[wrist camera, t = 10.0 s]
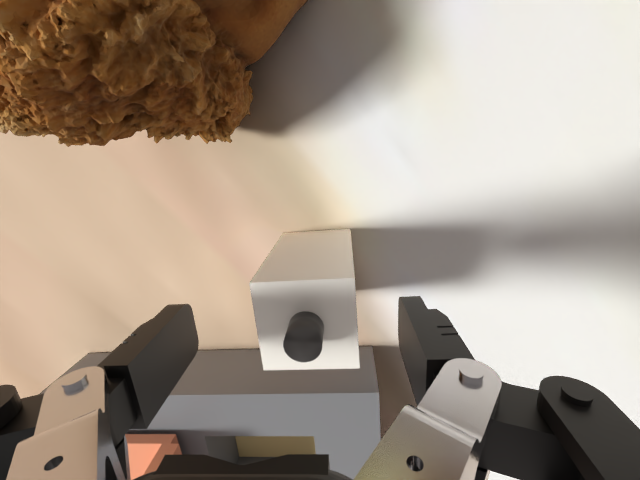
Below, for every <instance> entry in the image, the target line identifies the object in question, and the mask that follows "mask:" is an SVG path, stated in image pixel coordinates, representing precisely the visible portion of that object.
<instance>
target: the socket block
mask: <svg viewBox="0 0 640 480" xmlns="http://www.w3.org/2000/svg"><path fill="white" fill-rule="evenodd" d="M109 354H110V353H88V354H87V355H86V356H85V357H83V358H82V359H81V360H80V361H79V362H77V363H76V364H75V365H74V366H72V367H71V368H70V369H69V370H68V371H66V372H65V373H64V374H63V375H62V376H60V377H59V378H61V377H63V376H64V375H66V374H68V373H70V372H73V371H75V370H78V369H81V368H85V367H91V366H97V365H98V364H100V363H101V362H102V361H103V360H104V359H105V358H106V357H107V356H108V355H109ZM359 363H360V368H356V369H307V370H263V364H262V358H261V352H260V349H235V350H197V353H196V355H195V357H194V359H193V360H192V362H191V363H190V365H189V366H188V368H187V369H186V371H185V372H184V374H183V375H182V377H181V378H180V380H179V381H178V383H177V384H176V386H175V387H174V389H173V390H172V392H171V393H170V395H169V396H168V398H167V399H166V401H165V402H164V404H163V405H162V407H161V408H160V410H159V411H158V413H157V414H156V416H155V417H154V419H153V420H152V422H151V423H150V425H149V426H148V428H147V429H129V430H128V432H127V433H126V434H176V436H177V440H178V443H179V446H180V449H181V453H182V455H208V456H211V457H214V458H218V459H221V460H224V461H228V462H231V463H235V464H238V465H247V464H251V463H255V462H259V461H263V460H267V459H271V458H275V457H279V456H283V455H287V454H329V463H330V470H332V471H336V472H339V473H341V474H343V475H345V476H348V477H349V478H351V479H353V480H354V478H355V477H356V475H357V474H358V472H359V471H360V470H361V468H362V467H363V465H364V464H365V462H366V461H367V459H368V458H369V456H370V455H371V454H372V452H373V451H374V449H375V448H376V446H377V445H378V443H379V442H380V441H381V436H380V404H379V388H378V381H377V375H376V368H375V361H374V354H373V347H372V346H359ZM59 378H58V379H59ZM58 379H57V380H58ZM55 381H56V380H55ZM55 381H54V382H55ZM54 382H53V383H54ZM49 386H50V385H49ZM49 386H48V387H49ZM48 387H47V388H48ZM47 388H46V389H45V390H43V391H42V392H41V393H40V394H44V393H45V391H46V390H47ZM38 395H39V394H38Z"/></svg>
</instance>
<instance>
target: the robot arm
mask: <svg viewBox="0 0 640 480" xmlns="http://www.w3.org/2000/svg"><path fill="white" fill-rule="evenodd" d="M398 338H399V346H400V351H401V355H402V358H403V361H404V364H405V368H406V371H407V374H408V377H409V381H410V384H411V387H412V390H413V394H414V397H415V400H416V403H417V408H416V407H414V406H412V405H409V404H408V405H406V406H405V407H404V408H403V409H402V410H401V412H400V413H399V415H398V416H397V417H396V419H395V420H394V422H393V423H392V425H391V426H390V428H389V429H388V430H387V432H386V433H385V435H384V436H383V438H382V439H381V441H380V442H379V443H378V445H377V446H376V448H375V449H374V451H373V452H372V454H371V455H370V456H369V458H368V459H367V461H366V462H365V464H364V465H363V467H362V468H361V470H360V471H359V472H358V474H357V475H356V477H355V478H354V480H488V477H489V474H490V471H493V472H497V473H500V474H503V475H507V476H510V477H513V478H516V479H520V480H640V429H639V428H638V427H637V426H636V425H635V424H634V423H633V422H632V421H631V420H630V419H629V418H628V417H627V416H626V415H625V414H624V413H623V412H622V411H621V410H620V409H619V408H618V407H617V406H616V405H615V404H614V403H613V402H612V401H611V400H610V399H609V398H608V397H607V396H606V395H605V394H604V393H602V392H601V391H600V390H598V389H596V388H595V387H593V386H591V385H589V384H587V383H585V382H583V381H580V380H577V379H574V378H570V377H564V376H550V377H547V378H544V379H543V380H542V381H541V382H540V386H539V390H534V389H530V388H525V387H520V386H515V385H511V384H507V383H504V382H502V381H501V379H500V377H499V375H498V374H497V373H496V372H495V371H494V370H493V369H492V368H491V367H489V366H488V365H486V364H484V363H482V362H479V361H476V360H475V359H474V358H473V356H472V354H471V353H470V351H469V350H468V348H467V347H466V345H465V344H464V342H463V340H462V339H461V337H460V336H459V335H458V333H457V331H456V329H455V328H454V327H453V325H452V323H451V322H450V320H449V318H448V317H447V316H446V315H444V314H443V313H441V312H440V311H438V310H437V309H427V307H426V306H425V304H424V302H423V300H422V298H421V297H420V296H412V297H399V310H398ZM197 350H198V335H197V331H196V326H195V321H194V316H193V312H192V308H191V306H190V305H189V304H176V305H167V306H166V307H165V308H164V309H163V310H162V311H161V312H160V313H158V314H157V315H156V316H155V317H154V318H153V319H151V320H149V321H148V322H146V323H144V324H142V325H141V326H139V327H138V328H137V329H136V330H135V331H134V332H133V333H132V334H131V336H129V337H128V338H127V339H125V340H124V341H123V344H120V345H119V346H118V347H117V348H116V349H115V350H114V351H113V352H111V353H110V354H109V355H108V356H107V357H106V358H105V359H104V360H103V361H102V362H101V363H100V364H98V365H97V366H91V367H85V368H81V369H78V370H75V371H73V372H70V373H68V374H66V375H64V376H63V377H61V378H59V379H58V380H56V381H55V382H54V383H52V384H51V385H50V386H49V387H48V388H47V390H46V391H45V393H44V394H39V395H35V396H31V397H27V398H22V399H20V397H19V395H18V392H17V390H16V388H15V386H13V385H1V386H0V480H131V477H130V466H129V455H128V444H127V440H126V437H125V434H126V433H127V432H128V430H129V429H147V428H148V426H149V425H150V423H151V422H152V420H153V419H154V417H155V416H156V414H157V413H158V411H159V410H160V408H161V407H162V405H163V404H164V402H165V401H166V399H167V398H168V396H169V395H170V393H171V392H172V390H173V389H174V387H175V386H176V384H177V383H178V381H179V380H180V378H181V377H182V375H183V374H184V372H185V371H186V369H187V368H188V366H189V365H190V363H191V362H192V360H193V359H194V357H195V355H196V353H197ZM133 480H353V479H351V478H349V477H348V476H345V475H343V474H341V473H339V472H336V471H332V470H330V463H329V454H287V455H283V456H279V457H275V458H271V459H267V460H263V461H259V462H255V463H251V464H247V465H238V464H235V463H231V462H228V461H224V460H221V459H218V458H214V457H211V456H208V455H165V456H164V457H163V459H162V461H161V463H160V465H159V466H158V468H157V470H156V471H153V472H150V473H147V474H145V475H142V476H140V477H137V478H135V479H133Z"/></svg>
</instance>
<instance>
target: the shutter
mask: <svg viewBox="0 0 640 480" xmlns="http://www.w3.org/2000/svg"><path fill="white" fill-rule="evenodd" d="M125 437H126V440H127V444H128V455H129V466H130V477H131V480H133V479H135V478H137V477H140V476H142V475H145V474H147V473H150V472H153V471H156V470H157V468H158V466H159V465H160V463H161V461H162V459H163V457H164V456H165V455H182V453H181V449H180V446H179V443H178V440H177V436H176V434H125Z"/></svg>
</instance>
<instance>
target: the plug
mask: <svg viewBox="0 0 640 480" xmlns="http://www.w3.org/2000/svg"><path fill="white" fill-rule="evenodd" d="M249 284H250V290H251V296H252V303H253V309H254V315H255V321H256V327H257V333H258V339H259V346H260V352H261V358H262V364H263V370H307V369H356V368H360V363H359V344H358V326H357V308H356V290H355V274H354V263H353V251H352V240H351V229H337V230H321V231H304V232H288V233H283V234H282V235H281V237H280V238H279V240H278V241H277V243H276V244H275V246H274V247H273V249H272V250H271V252H270V253H269V254H268V256H267V257H266V259H265V260H264V262H263V263H262V265H261V266H260V268H259V269H258V271H257V272H256V274H255V275H254V277H253V278H252V280H251V281H250V283H249Z"/></svg>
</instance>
